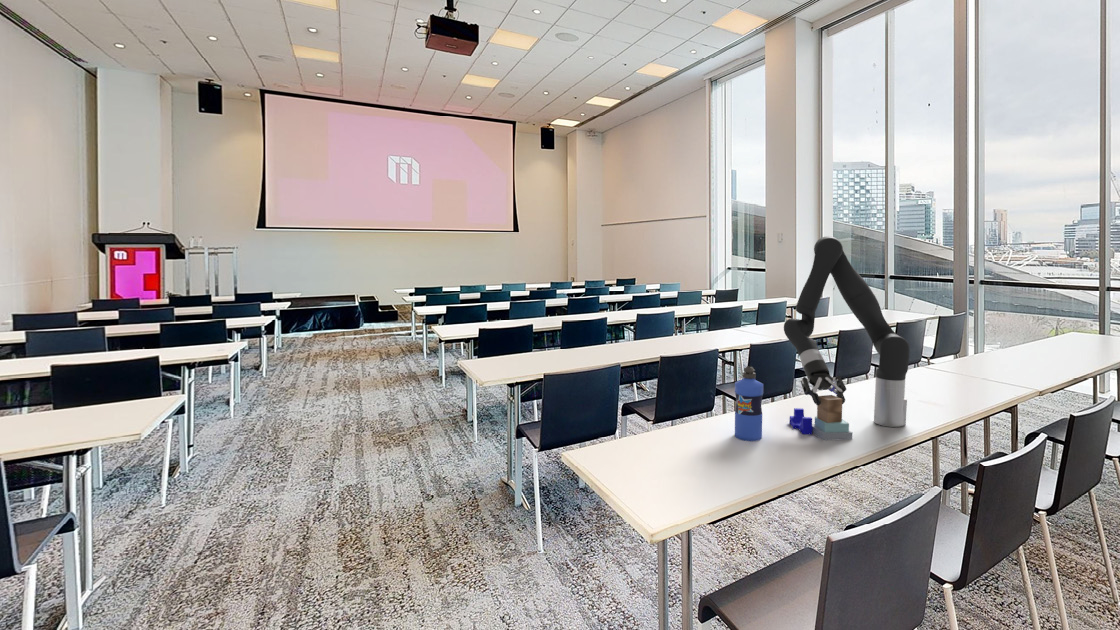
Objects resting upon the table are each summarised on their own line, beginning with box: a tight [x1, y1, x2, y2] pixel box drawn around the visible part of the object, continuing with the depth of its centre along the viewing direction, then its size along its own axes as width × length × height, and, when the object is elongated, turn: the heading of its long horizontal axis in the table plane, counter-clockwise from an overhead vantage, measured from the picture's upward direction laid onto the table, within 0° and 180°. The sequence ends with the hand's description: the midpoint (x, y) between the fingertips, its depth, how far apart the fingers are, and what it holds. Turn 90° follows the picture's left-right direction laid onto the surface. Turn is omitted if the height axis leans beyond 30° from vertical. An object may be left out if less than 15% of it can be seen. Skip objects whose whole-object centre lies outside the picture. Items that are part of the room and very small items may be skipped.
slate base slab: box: [812, 423, 853, 441], centre depth 186 cm, size 10×10×3 cm
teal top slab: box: [814, 416, 850, 432], centre depth 185 cm, size 8×8×3 cm
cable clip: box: [789, 407, 813, 435], centre depth 193 cm, size 12×4×6 cm, turn 170°
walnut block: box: [816, 394, 843, 423], centre depth 185 cm, size 6×6×8 cm
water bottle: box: [734, 365, 764, 442], centre depth 184 cm, size 9×9×25 cm
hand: (831, 403), depth 183 cm, fingers open, 8 cm apart
